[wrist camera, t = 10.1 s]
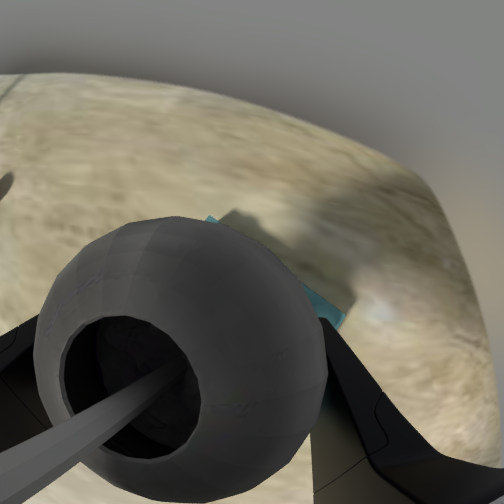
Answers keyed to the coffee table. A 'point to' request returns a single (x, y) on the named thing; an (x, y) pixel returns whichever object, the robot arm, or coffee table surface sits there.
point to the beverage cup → (172, 366)
